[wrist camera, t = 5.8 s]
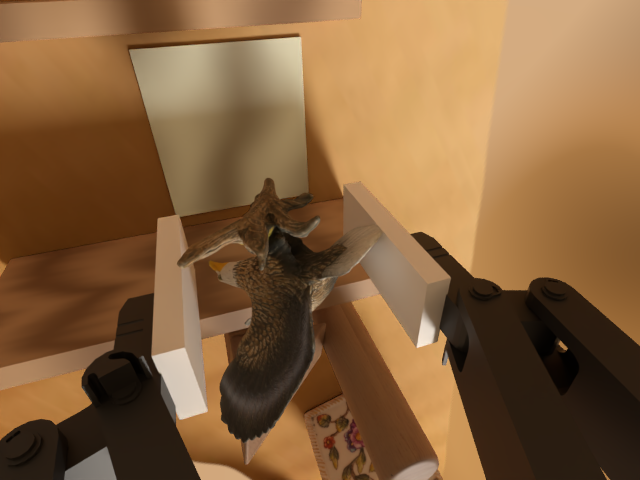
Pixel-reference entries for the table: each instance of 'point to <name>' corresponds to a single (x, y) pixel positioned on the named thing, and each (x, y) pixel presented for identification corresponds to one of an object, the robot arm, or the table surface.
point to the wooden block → (363, 396)
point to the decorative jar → (340, 443)
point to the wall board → (174, 171)
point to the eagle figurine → (275, 303)
